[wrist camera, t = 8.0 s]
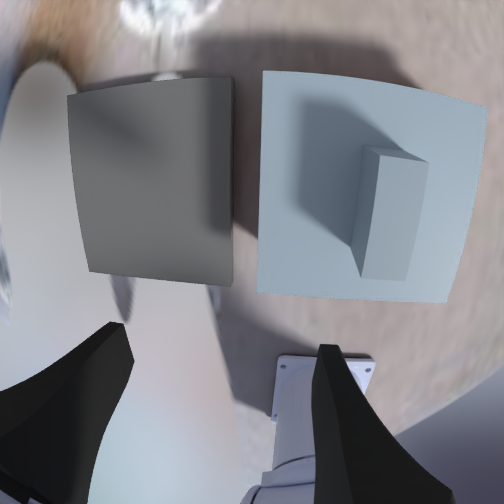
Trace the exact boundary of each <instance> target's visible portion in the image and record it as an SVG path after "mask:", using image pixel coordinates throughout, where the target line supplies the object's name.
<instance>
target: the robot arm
mask: <svg viewBox="0 0 504 504" xmlns="http://www.w3.org/2000/svg"><path fill="white" fill-rule="evenodd" d="M133 364H134V358H133V355H132V351H131V348H130V345H129V341H128V338H127V334H126V331H125V327H124V324H122V323H116V322H109V323H107V324H106V325H104V326H103V327H102V328H100V329H99V330H98V331H96V332H95V333H94V334H92V335H91V336H90V337H89V338H87V339H86V340H85V341H83V342H82V343H81V344H79V345H78V346H77V347H76V348H74V349H73V350H72V351H70V352H69V353H68V354H66V355H65V356H63V357H62V358H60V359H59V360H58V361H56V362H55V363H53V364H52V365H50V366H49V367H47V368H46V369H44V370H42V371H41V372H39V373H38V374H36V375H34V376H32V377H30V378H29V379H27V380H25V381H23V382H20V383H18V384H16V385H14V386H12V387H10V388H8V389H5V390H3V391H0V504H87V502H88V495H89V488H90V483H91V477H92V473H93V469H94V465H95V461H96V457H97V454H98V450H99V447H100V444H101V441H102V438H103V435H104V432H105V430H106V427H107V425H108V423H109V421H110V419H111V416H112V414H113V412H114V410H115V408H116V406H117V404H118V402H119V400H120V398H121V396H122V393H123V391H124V389H125V387H126V385H127V383H128V380H129V377H130V374H131V371H132V367H133ZM282 365H285V366H282ZM367 368H369V369H367ZM374 368H375V361H374V360H373V359H356V358H344V357H343V354H342V352H341V350H340V347H339V346H338V345H331V344H320V346H319V351H318V355H317V357H304V356H288V355H282V356H280V357H278V362H277V371H276V381H275V390H274V398H273V407H272V415H271V422H272V423H274V424H276V434H275V444H274V454H273V464H272V471H269V472H263V474H262V482H261V485H255V486H253V487H252V488H250V489H249V491H248V492H247V493H246V495H245V497H244V498H243V499H242V501H241V503H240V504H456V502H455V498H454V496H453V492H452V490H450V489H449V488H448V487H447V486H445V485H444V484H442V483H441V482H440V481H438V480H437V479H436V478H435V477H433V476H432V475H431V474H430V473H429V472H427V471H426V470H425V469H424V468H423V467H422V466H420V464H419V463H417V461H415V459H414V458H412V456H411V455H410V454H408V452H407V451H406V450H405V449H404V448H403V447H402V446H401V445H400V444H399V443H398V442H397V441H396V439H395V438H394V437H393V436H392V434H391V433H390V432H389V431H388V429H387V428H386V427H385V426H384V424H383V423H382V422H381V420H380V419H379V417H378V416H377V415H376V413H375V412H374V410H373V409H372V407H371V406H370V404H369V403H368V401H367V399H366V398H365V396H364V393H365V391H366V388H367V386H368V383H369V381H370V378H371V376H372V373H373V370H374Z"/></svg>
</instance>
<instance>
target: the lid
mask: <svg viewBox="0 0 504 504" xmlns="http://www.w3.org/2000/svg"><path fill="white" fill-rule="evenodd" d="M487 110H488V108H486V107H483V106H479V105H476V104H473V103H470V102H466V101H463V100H460V99H456V98H452V97H449V96H445V95H441V94H437V93H433V92H429V91H425V90H420V89H416V88H411V87H407V86H402V85H396V84H391V83H386V82H380V81H374V80H367V79H361V78H353V77H346V76H337V75H328V74H317V73H305V72H288V71H263V88H262V126H261V162H260V196H259V228H258V260H257V290H256V293H264V294H277V295H290V296H305V297H320V298H337V299H356V300H376V301H400V302H431V303H446V301H447V298H448V295H449V292H450V290H451V287H452V284H453V281H454V278H455V274H456V271H457V268H458V265H459V262H460V258H461V255H462V251H463V248H464V244H465V240H466V237H467V233H468V229H469V225H470V220H471V216H472V212H473V207H474V203H475V198H476V193H477V188H478V182H479V176H480V170H481V164H482V157H483V150H484V142H485V133H486V123H487Z"/></svg>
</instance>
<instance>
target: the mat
mask: <svg viewBox="0 0 504 504" xmlns="http://www.w3.org/2000/svg"><path fill="white" fill-rule="evenodd" d="M233 100H234V78H233V77H204V78H187V79H174V80H164V81H153V82H144V83H136V84H129V85H122V86H116V87H109V88H103V89H98V90H92V91H87V92H82V93H77V94H73V95H68V96H67V102H68V126H69V141H70V153H71V163H72V172H73V181H74V188H75V196H76V203H77V210H78V216H79V222H80V227H81V233H82V238H83V243H84V248H85V253H86V258H87V262H88V267H89V271H90V272H97V273H104V274H113V275H121V276H130V277H139V278H149V279H158V280H167V281H177V282H187V283H198V284H208V285H219V286H231V285H232V282H233Z"/></svg>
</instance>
